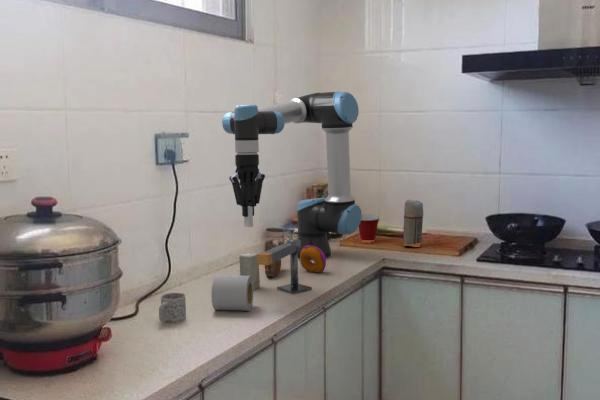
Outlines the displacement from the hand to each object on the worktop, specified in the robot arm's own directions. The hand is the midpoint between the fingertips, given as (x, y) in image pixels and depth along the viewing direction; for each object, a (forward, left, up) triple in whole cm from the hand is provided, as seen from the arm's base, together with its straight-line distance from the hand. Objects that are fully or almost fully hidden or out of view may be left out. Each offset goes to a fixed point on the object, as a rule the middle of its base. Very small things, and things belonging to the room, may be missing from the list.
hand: (248, 226), depth 207 cm
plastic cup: (-84, -25, -21) cm, 90 cm away
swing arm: (0, +16, -8) cm, 18 cm away
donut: (-29, -1, -21) cm, 36 cm away
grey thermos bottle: (-91, -6, -21) cm, 94 cm away
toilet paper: (+18, +16, -21) cm, 32 cm away
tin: (-17, -9, -21) cm, 28 cm away
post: (-9, +12, -20) cm, 25 cm away
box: (0, 0, -21) cm, 21 cm away
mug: (+37, +13, -21) cm, 44 cm away
